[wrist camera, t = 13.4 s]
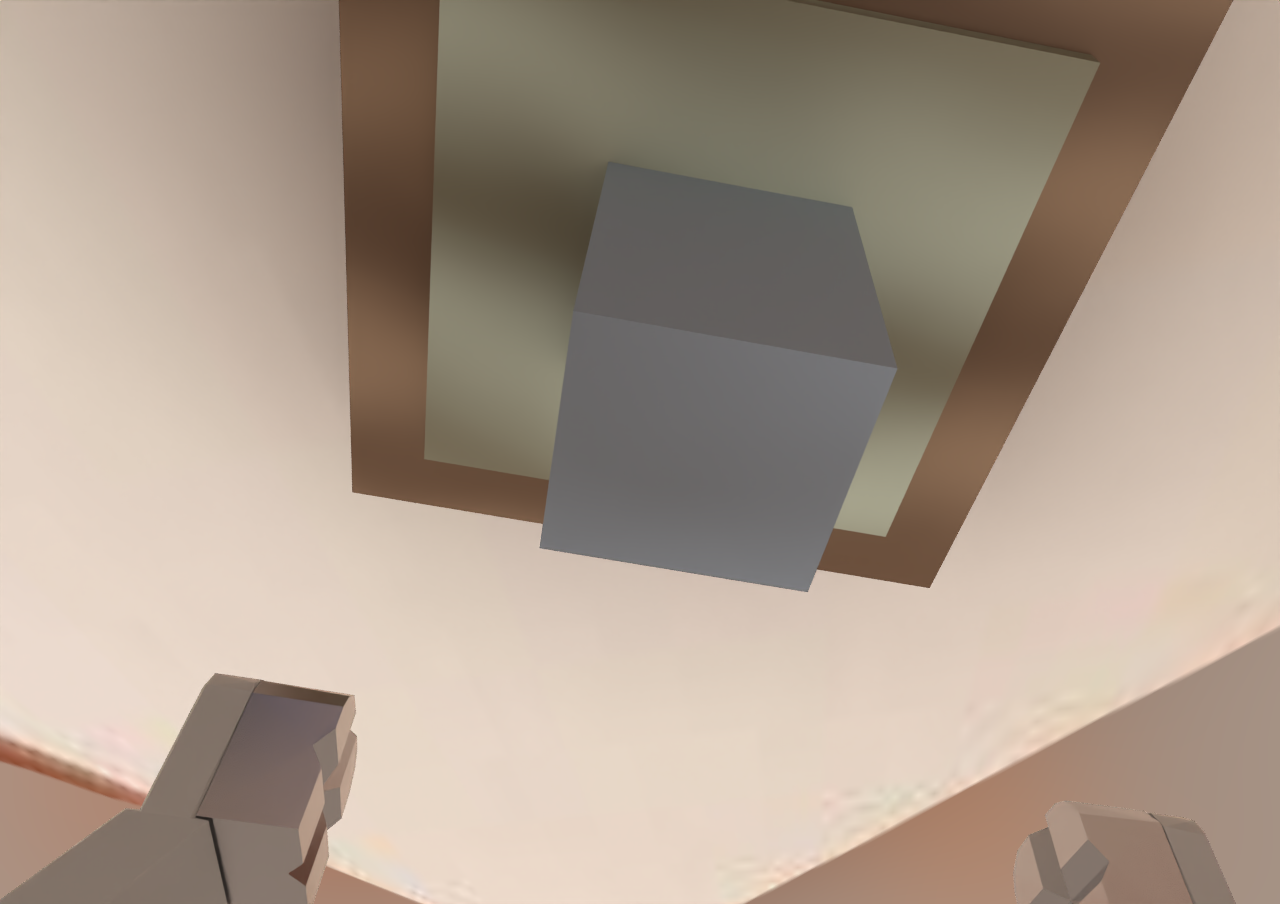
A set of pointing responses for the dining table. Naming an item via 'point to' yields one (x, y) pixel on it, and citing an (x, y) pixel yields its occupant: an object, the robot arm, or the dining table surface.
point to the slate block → (715, 380)
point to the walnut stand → (749, 157)
